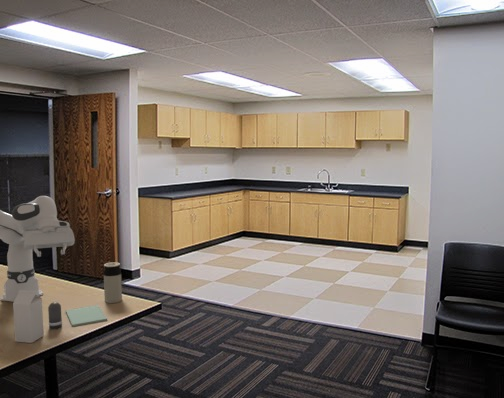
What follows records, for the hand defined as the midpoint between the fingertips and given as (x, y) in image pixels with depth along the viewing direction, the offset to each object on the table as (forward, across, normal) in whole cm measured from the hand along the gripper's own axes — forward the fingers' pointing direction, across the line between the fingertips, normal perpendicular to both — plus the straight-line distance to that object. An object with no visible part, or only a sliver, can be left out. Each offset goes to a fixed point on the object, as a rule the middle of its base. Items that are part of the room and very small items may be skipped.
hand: (51, 254), depth 197 cm
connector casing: (+29, 0, +9) cm, 30 cm away
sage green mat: (+24, +12, +14) cm, 31 cm away
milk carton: (+35, -11, +3) cm, 36 cm away
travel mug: (+14, +28, +25) cm, 40 cm away
